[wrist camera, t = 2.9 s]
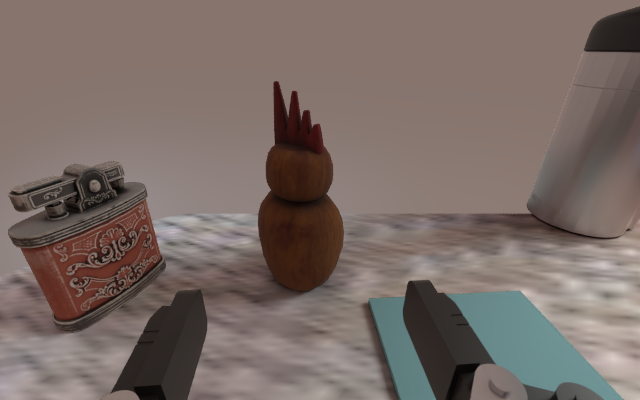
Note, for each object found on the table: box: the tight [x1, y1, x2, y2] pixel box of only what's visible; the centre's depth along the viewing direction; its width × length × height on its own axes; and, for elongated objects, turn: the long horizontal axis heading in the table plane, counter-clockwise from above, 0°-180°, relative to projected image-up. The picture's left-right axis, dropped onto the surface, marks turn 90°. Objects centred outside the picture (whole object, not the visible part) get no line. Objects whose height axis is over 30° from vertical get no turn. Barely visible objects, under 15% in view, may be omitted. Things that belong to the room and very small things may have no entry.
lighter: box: [8, 161, 166, 333], centre depth 21 cm, size 8×3×10 cm, turn 158°
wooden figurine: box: [258, 81, 344, 291], centre depth 22 cm, size 7×6×15 cm
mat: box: [368, 291, 623, 400], centre depth 18 cm, size 12×11×1 cm
